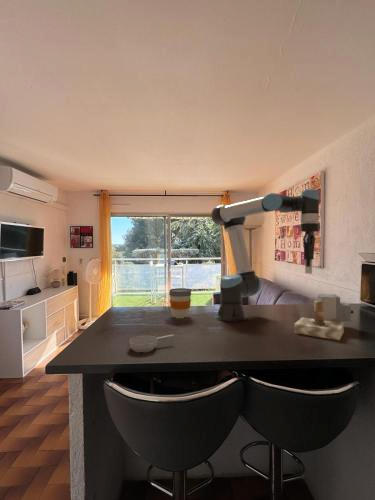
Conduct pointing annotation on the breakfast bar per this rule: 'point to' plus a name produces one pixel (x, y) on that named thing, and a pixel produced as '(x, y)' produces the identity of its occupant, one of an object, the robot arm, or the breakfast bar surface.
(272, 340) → the breakfast bar surface
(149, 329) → the breakfast bar surface
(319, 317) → the peg
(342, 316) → the circuit breaker
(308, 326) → the board
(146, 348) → the saucepan
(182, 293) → the reusable coffee cup
